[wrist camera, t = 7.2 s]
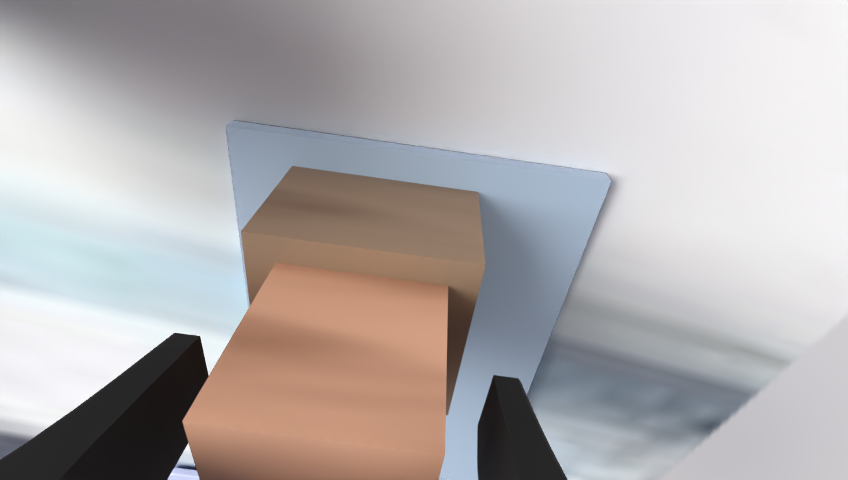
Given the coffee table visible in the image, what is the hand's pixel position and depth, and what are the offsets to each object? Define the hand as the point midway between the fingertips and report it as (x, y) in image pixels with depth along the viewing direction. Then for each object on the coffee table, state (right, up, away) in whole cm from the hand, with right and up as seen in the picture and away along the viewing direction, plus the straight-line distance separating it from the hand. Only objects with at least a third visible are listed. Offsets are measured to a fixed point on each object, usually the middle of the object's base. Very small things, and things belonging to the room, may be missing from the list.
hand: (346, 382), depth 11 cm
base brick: (0, +3, +5) cm, 6 cm away
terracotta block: (0, +1, +1) cm, 2 cm away
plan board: (+1, -1, +8) cm, 8 cm away
